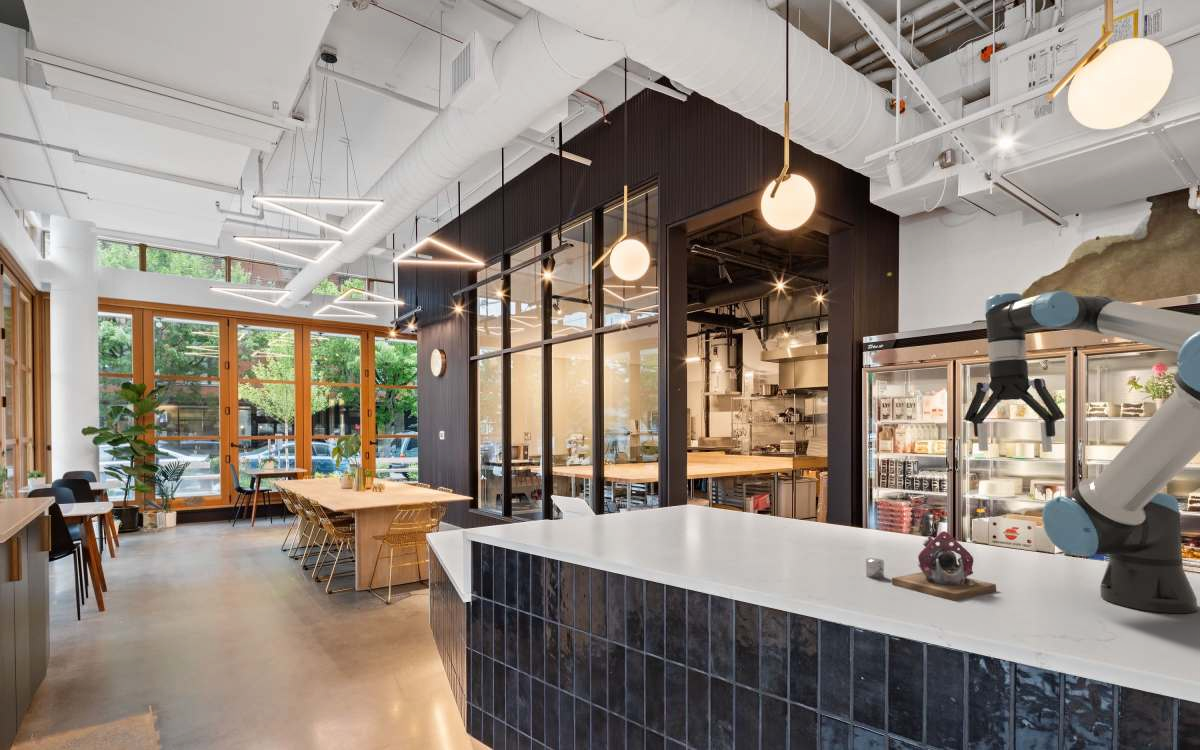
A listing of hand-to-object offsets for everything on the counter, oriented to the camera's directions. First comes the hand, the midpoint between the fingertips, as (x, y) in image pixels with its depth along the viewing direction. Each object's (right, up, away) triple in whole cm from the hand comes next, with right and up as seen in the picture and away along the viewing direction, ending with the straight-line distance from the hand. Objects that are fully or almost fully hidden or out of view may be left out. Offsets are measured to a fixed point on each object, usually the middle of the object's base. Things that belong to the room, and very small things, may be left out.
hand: (1014, 451), depth 147 cm
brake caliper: (-18, -29, -3) cm, 34 cm away
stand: (-18, -30, -3) cm, 36 cm away
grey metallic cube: (-29, -31, +6) cm, 43 cm away
